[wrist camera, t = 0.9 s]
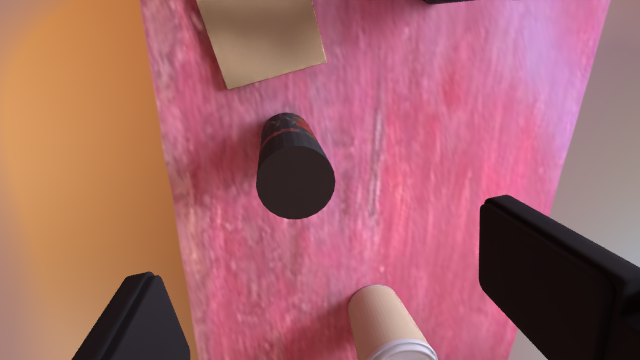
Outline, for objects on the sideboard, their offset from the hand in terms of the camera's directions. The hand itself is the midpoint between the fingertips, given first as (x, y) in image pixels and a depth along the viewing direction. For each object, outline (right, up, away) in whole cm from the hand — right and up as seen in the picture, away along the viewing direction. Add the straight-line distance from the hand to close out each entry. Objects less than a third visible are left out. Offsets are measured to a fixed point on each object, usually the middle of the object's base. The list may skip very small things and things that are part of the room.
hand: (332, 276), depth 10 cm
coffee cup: (+8, -16, +40) cm, 44 cm away
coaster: (-7, +20, +24) cm, 32 cm away
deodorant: (-4, +8, +29) cm, 31 cm away
